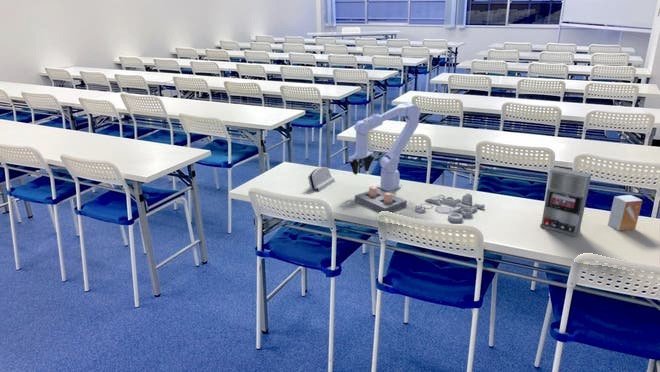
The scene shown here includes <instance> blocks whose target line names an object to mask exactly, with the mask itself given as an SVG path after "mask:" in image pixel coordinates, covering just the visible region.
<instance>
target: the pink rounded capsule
mask: <svg viewBox="0 0 660 372" xmlns="http://www.w3.org/2000/svg"><path fill="white" fill-rule="evenodd" d="M377 189H378V187H377V186H373V185H372V186H369V187H368V191H369V197H371V198H375V197H377Z"/></svg>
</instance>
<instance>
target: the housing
mask: <svg viewBox="0 0 660 372" xmlns="http://www.w3.org/2000/svg"><path fill="white" fill-rule="evenodd" d="M384 193H387V191H386V192H385V190H384V191H383V190H382V189H380V188H379V189H377V197H375V198H371V197H369V190H367V191H365V192H364V191H363V192H361V193H357V194H356V195H354V201H356V202H358V203H360V204H362V205H364V206H367V207H369V208H372V209H374V210H376V211H378V212H380V211H390V212H392V211H396V210H399V209H401V208H404V207H406V206H407V200H406V199H404V198H401V197H398V196H396V195H394V194H393V201H392V204H389V205H388V204H385V203H384Z"/></svg>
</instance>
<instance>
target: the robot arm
mask: <svg viewBox="0 0 660 372" xmlns="http://www.w3.org/2000/svg"><path fill="white" fill-rule="evenodd" d="M420 115H421V111H420V108H419V106H418V105H416V104H413V103H411V102H409V101H405V102H402V103H399V104H398V105H397V106H394V107H393V108H391V109H389V110H387V111H386V112H383V113H382V114H379V113H376V114H375V113H373V114H372V115H371V116H369V117H368V118H364V119H363V120H358V121H357V122H356V123H355V124H354V126H353V128H354V130H355V152H354V154H353V155H351V156H348V163H349V164H350V166H351V170H352V173H353V175H355V176H358V170H359V169H358V168H359V164H360V161H358V160H361V159H362V160H363V162H364V163H363V164H364V168H363V169H364V171H366V172H369V170H370V167H371V164H372V162H373V160H374V152H373V151H368V140H369V137H368V134H369V132H370V131H372V130H374V129H376V128H378V127H380V126H382V125H383V124H384V122H386V121H388V120H391V119H393V118H395V117H398V116H401V117H404V120H405V123H406V124H405V125H404V127H403V129H402V130H401V132H400V134H399V135H398V137H397V138H396V140H395V141H394V144H393V145H392V146H391V148H390V150H388V151H387V152H385V154H384V155H383V156H382V157H381V158H380V159H379V165H380V167H381V168H380V184H379V185H376V187H377V188H379V189H380V190H382V191H383V190H384V191H386V192H390V191H392V190H395V189H398V188H400V187H401V185H400V180H401V179H400V171H399V170H398V167H399V166H398V165H399V163H400V156H401V154H402V153H403V151H404V150H405V147H406V146H407V144H408V143H409V141H410V139H411V138H412V136H413V135H414V132H415V131H416V129H417V128H418V126H419V121H420Z"/></svg>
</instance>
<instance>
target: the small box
mask: <svg viewBox="0 0 660 372" xmlns="http://www.w3.org/2000/svg"><path fill="white" fill-rule="evenodd" d="M613 197H614V198H613V201H612V206H611V209H610V214H609V219H608V223H607V225H608V226H609V227H611V228H612V229H614V228H615V229H614V230H617V231H619V232H620V231H621V232H622V231H628V230H630V229H631V230H635V229H636V228H637V227H636V226H637V223H638V219H639V216H640V211H641V208H642V203H643V200H642V199H640V198H639V197H636V196H634V195H633V194H625V195H617V196H613Z"/></svg>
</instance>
